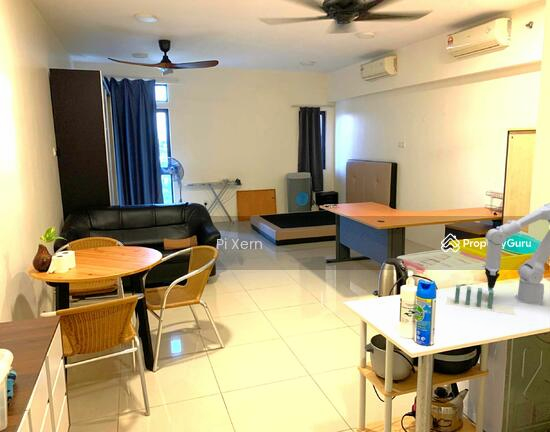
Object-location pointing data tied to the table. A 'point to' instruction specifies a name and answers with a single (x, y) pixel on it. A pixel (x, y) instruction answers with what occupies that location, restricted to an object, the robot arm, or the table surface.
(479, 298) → the teal rectangular block
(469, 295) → the muted teal oblong block
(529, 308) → the table surface
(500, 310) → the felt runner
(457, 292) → the tile
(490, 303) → the tile
